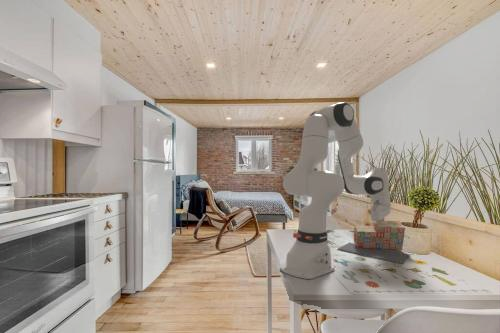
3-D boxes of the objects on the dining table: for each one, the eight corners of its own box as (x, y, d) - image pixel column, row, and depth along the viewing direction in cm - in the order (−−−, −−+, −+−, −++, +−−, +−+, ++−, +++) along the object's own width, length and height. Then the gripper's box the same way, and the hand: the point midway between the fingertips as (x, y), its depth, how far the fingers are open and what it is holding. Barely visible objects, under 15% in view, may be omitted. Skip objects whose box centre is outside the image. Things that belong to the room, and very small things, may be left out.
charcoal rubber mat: (402, 264, 103) (402, 262, 103) (337, 249, 123) (337, 248, 123) (409, 255, 114) (409, 254, 114) (349, 243, 134) (349, 242, 134)
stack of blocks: (356, 247, 124) (357, 226, 121) (353, 241, 130) (354, 219, 127) (402, 249, 121) (405, 227, 117) (397, 242, 127) (399, 221, 123)
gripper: (380, 202, 117) (382, 231, 117) (392, 197, 132) (393, 222, 132) (366, 201, 121) (368, 230, 121) (379, 196, 136) (380, 221, 136)
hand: (381, 226), depth 127 cm, fingers closed
